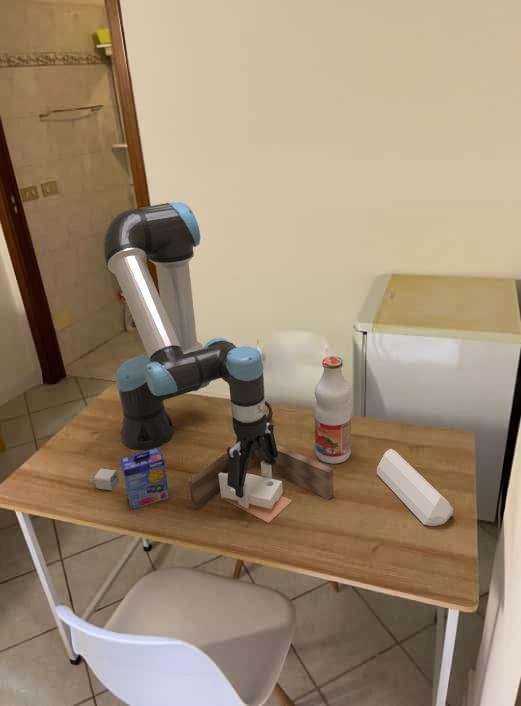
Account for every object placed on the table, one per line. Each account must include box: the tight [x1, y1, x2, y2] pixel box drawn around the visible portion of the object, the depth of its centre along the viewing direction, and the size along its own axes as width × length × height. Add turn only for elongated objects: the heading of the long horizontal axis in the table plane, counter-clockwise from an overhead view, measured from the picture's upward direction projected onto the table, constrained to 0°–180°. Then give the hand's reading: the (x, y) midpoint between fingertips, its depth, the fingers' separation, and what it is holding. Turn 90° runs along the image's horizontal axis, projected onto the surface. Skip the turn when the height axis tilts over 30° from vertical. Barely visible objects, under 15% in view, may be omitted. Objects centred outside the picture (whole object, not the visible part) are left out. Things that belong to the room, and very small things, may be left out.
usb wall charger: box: [87, 468, 120, 491], centre depth 141 cm, size 4×7×4 cm, turn 76°
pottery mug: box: [265, 400, 273, 424], centre depth 163 cm, size 12×10×8 cm
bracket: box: [218, 472, 284, 509], centre depth 132 cm, size 13×7×8 cm, turn 66°
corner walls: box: [188, 444, 334, 511], centre depth 131 cm, size 25×23×8 cm
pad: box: [220, 494, 293, 524], centre depth 133 cm, size 15×9×1 cm, turn 50°
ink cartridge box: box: [119, 447, 171, 510], centre depth 133 cm, size 10×6×14 cm, turn 113°
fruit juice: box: [313, 355, 352, 465], centre depth 142 cm, size 9×9×28 cm
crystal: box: [376, 448, 454, 527], centre depth 130 cm, size 7×7×24 cm
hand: (255, 495), depth 133 cm, fingers closed on bracket, 8 cm apart
